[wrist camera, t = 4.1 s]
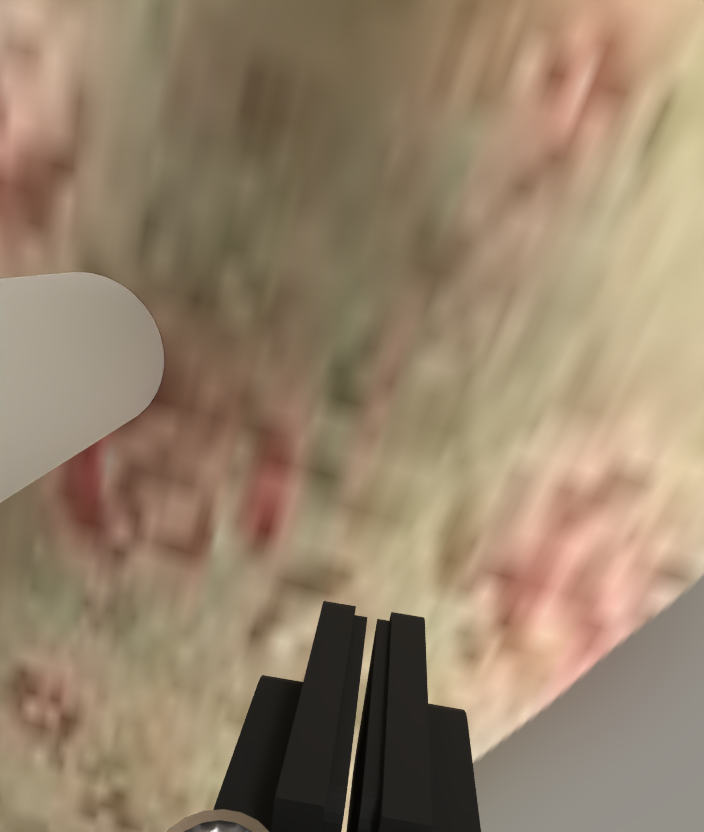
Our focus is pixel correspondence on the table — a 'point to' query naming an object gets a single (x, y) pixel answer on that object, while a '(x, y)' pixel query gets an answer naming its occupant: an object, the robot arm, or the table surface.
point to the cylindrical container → (69, 369)
